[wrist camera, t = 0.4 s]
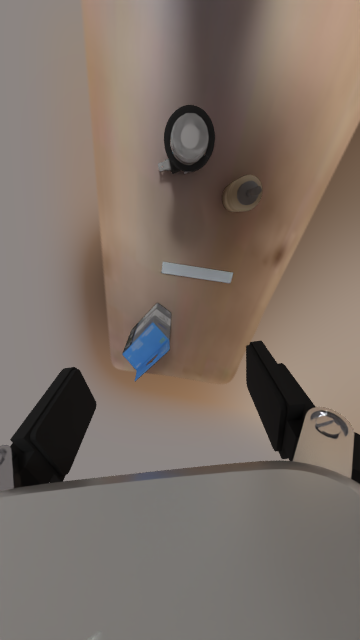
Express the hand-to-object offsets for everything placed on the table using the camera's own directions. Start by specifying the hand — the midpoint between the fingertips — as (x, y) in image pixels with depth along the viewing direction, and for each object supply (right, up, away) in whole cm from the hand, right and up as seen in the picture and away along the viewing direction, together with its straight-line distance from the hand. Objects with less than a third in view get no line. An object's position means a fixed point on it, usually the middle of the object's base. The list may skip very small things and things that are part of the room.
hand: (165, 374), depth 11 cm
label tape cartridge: (-5, +3, +30) cm, 31 cm away
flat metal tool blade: (+4, +12, +25) cm, 28 cm away
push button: (+1, +26, +18) cm, 32 cm away
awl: (+9, +22, +20) cm, 31 cm away
